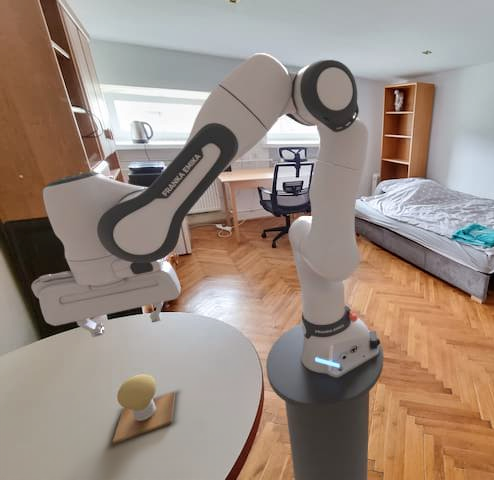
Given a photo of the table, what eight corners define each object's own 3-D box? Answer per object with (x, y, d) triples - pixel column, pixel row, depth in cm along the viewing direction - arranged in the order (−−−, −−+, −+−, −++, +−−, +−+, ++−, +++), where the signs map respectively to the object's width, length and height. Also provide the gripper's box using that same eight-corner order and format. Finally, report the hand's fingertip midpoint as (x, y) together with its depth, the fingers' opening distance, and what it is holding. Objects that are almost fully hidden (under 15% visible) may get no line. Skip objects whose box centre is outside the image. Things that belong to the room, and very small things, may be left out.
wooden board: (175, 393, 68) (175, 391, 67) (171, 422, 61) (171, 420, 61) (123, 410, 64) (122, 408, 63) (113, 443, 57) (112, 441, 57)
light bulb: (121, 432, 58) (106, 396, 55) (136, 404, 64) (123, 370, 61) (156, 425, 60) (143, 390, 56) (168, 399, 66) (157, 365, 62)
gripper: (16, 286, 45) (52, 355, 50) (168, 260, 53) (185, 321, 58) (36, 270, 50) (67, 333, 55) (171, 248, 59) (187, 305, 64)
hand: (129, 327), depth 57 cm, fingers open, 8 cm apart
